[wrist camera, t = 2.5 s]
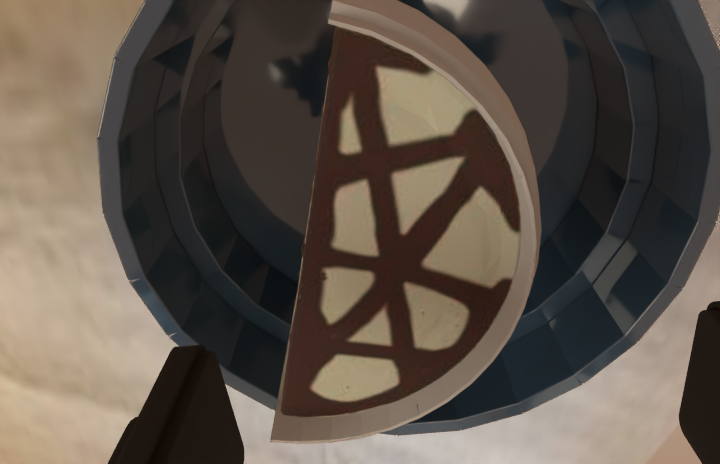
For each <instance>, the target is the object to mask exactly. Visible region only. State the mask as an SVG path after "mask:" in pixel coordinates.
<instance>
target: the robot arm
mask: <svg viewBox="0 0 720 464" xmlns="http://www.w3.org/2000/svg"><path fill="white" fill-rule="evenodd" d="M679 422H680V426H681V429H682V432H683V434H684V436H685V437H686V439H687V440H688V442H689V444H690V445H691V447H692V448H693V450H694V451H695V453H696V454H697V456H698V458H699V459H700V461H701V462H702V464H720V301H716V302H712V303H710V304H709V305H708V307H707V310H703V311H701V312H700V313H699V316H698V320H697V325H696V330H695V336H694V341H693V346H692V351H691V356H690V361H689V366H688V371H687V376H686V381H685V387H684V392H683V397H682V402H681V407H680V412H679ZM243 463H244V446H243V442H242V439H241V436H240V432H239V429H238V426H237V422H236V419H235V416H234V412H233V409H232V406H231V403H230V399H229V396H228V393H227V389H226V386H225V383H224V379H223V376H222V373H221V369H220V366H219V363H218V360H217V356H216V354H215V353H214V352H213V351H207V349H206V347H205V346H204V345H191V346H179V347H174V348H173V349H172V350H171V352H170V354H169V356H168V358H167V360H166V362H165V364H164V366H163V368H162V370H161V372H160V374H159V376H158V378H157V380H156V382H155V384H154V386H153V388H152V390H151V392H150V394H149V396H148V398H147V400H146V402H145V404H144V406H143V408H142V410H141V412H140V414H139V416H138V417H135V418H134V419H133V420H131V421H130V423H129V424H128V426H127V427H126V429H125V431H124V433H123V435H122V437H121V439H120V441H119V442H118V444H117V446H116V448H115V450H114V452H113V454H112V456H111V458H110V460H109V462H108V464H243Z"/></svg>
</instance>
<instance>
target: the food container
mask: <svg viewBox="0 0 720 464" xmlns="http://www.w3.org/2000/svg"><path fill="white" fill-rule="evenodd" d="M328 24H332V25H335V30H334V35H333V46H332V52H331V56H330V59H329V61H328V67H329V75H328V82H327V89H326V95H325V102H324V104H323V106H322V110H321V111H322V113H323V114H322V117H321V123H320V124H321V130H320V137H319V143H318V151H317V157H316V167H315V175H314V181H313V185H312V189H311V191H310V210H309V217H308V222H307V225H306V230H307V231H306V236H305V238H304V241H303V246H302V247H301V253H302V256H303V257H302V264H301V271H299V272H298V276H299V277H300V278H299V284H298V287H297V295H296V299H295V300H294V305H295V306H294V312H293V317H292V323H291V328H290V334H289V340H288V345H287V351H286V356H285V362H284V367H283V373H282V378H281V384H280V390H279V395H278V401H277V406H276V412H275V417H274V423H273V428H272V434H271V440H270V442H279V443H293V444H311V443H332V442H339V441H345V440H352V439H358V438H363V437H367V436H371V435H374V434H378V433H381V432H385V431H389V430H392V429H395V428H397V427H399V426H402V425H404V424H407V423H409V422H412V421H414V420H416V419H419V418H421V417H423V416H425V415H426V414H428V413H430V412H432V411H433V410H435V409H437V408H439V407H440V406H442V405H444V404H445V403H447V402H449V401H450V400H451V399H452V398H454V397H455V396H456V395H458V394H459V393H460V392H462V391H463V390H464V389H465V388H467V387H468V386H469V385H471V384H472V383H473V382H474V381H475V380H476V379H477V378H478V377H479V376H480V375H481V374H482V373H483V371H484V370H485V369H486V368H487V367H488V366H489V365H490V364H491V363H492V362H493V361H494V360H495V358H496V357H497V355H498V354H499V353H500V351H501V350H502V348H503V347H504V345H505V344H506V343H507V341H508V340H509V338H510V337H511V335H512V333H513V331H514V329H515V327H516V325H517V323H518V321H519V319H520V317H521V315H522V312H523V310H524V308H525V305H526V302H527V298H528V296H529V293H530V289H531V286H532V283H533V279H534V276H535V272H536V269H537V265H538V259H539V250H540V240H541V231H542V229H541V216H540V202H539V192H538V185H537V179H536V172H535V166H534V163H533V159H532V155H531V152H530V148H529V144H528V141H527V137H526V133H525V131H524V129H523V127H522V125H521V123H520V120H519V118H518V116H517V114H516V112H515V110H514V108H513V106H512V104H511V102H510V99H509V98H508V96H507V95H506V93H505V92H504V91H503V89H502V88H501V86H500V85H499V84H498V82H497V81H496V79H495V78H494V77H493V75H492V74H491V72H490V71H489V70H488V68H487V67H486V65H485V64H484V63H483V62H482V61H481V60H480V59H479V58H477V57H476V56H475V55H474V54H473V53H472V52H471V51H470V50H469V49H468V48H467V47H466V46H465V45H464V44H463V43H462V42H461V41H460V40H459V39H458V38H457V37H456V36H455V35H454V34H452V33H451V32H449V31H448V30H446V29H445V28H443V27H442V26H441V25H439V24H438V23H436V22H435V21H433V20H432V19H430V18H429V17H428V16H426V15H425V14H423V13H422V12H420V11H419V10H417V9H415V8H412V7H410V6H408V5H406V4H404V3H402V2H400V1H397V0H332V7H331V13H330V16H329V20H328Z"/></svg>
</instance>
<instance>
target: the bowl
mask: <svg viewBox="0 0 720 464" xmlns="http://www.w3.org/2000/svg"><path fill="white" fill-rule="evenodd" d="M397 1H400V2H402V3H404V4H406V5H408V6H410V7H412V8H415V9H417V10H419V11H420V12H422V13H423V14H425V15H426V16H428V17H429V18H430V19H432V20H433V21H435V22H436V23H438V24H439V25H441V26H442V27H443V28H445V29H446V30H448V31H449V32H451V33H452V34H454V35H455V36H456V37H457V38H458V39H459V40H460V41H461V42H462V43H463V44H464V45H465V46H466V47H467V48H468V49H469V50H470V51H471V52H472V53H473V54H474V55H475V56H476V57H477V58H479V59H480V60H481V61H482V62H483V63H484V64H485V65H486V67H487V68H488V70H489V71H490V72H491V74H492V75H493V77H494V78H495V79H496V81H497V82H498V84H499V85H500V86H501V88H502V89H503V91H504V92H505V93H506V95H507V96H508V98H509V99H510V102H511V104H512V106H513V108H514V110H515V112H516V114H517V116H518V118H519V120H520V123H521V125H522V127H523V129H524V131H525V133H526V137H527V141H528V144H529V148H530V152H531V155H532V159H533V163H534V166H535V172H536V179H537V185H538V192H539V202H540V216H541V229H542V231H541V240H540V250H539V259H538V265H537V269H536V272H535V276H534V279H533V283H532V286H531V289H530V293H529V296H528V298H527V302H526V305H525V308H524V310H523V312H522V315H521V317H520V319H519V321H518V323H517V325H516V327H515V329H514V331H513V333H512V335H511V337H510V338H509V340H508V341H507V343H506V344H505V345H504V347H503V348H502V350H501V351H500V353H499V354H498V355H497V357H496V358H495V360H494V361H493V362H492V363H491V364H490V365H489V366H488V367H487V368H486V369H485V370H484V371H483V373H482V374H481V375H480V376H479V377H478V378H477V379H476V380H475V381H474V382H473V383H472V384H471V385H469V386H468V387H467V388H465V389H464V390H463V391H462V392H460V393H459V394H458V395H456V396H455V397H454V398H452V399H451V400H450V401H449V402H447V403H445V404H444V405H442V406H440V407H439V408H437V409H435V410H433V411H432V412H430V413H428V414H426V415H425V416H423V417H421V418H419V419H416V420H414V421H412V422H409V423H407V424H404V425H402V426H399V427H397V428H395V429H392V430H389V431H385V432H381V433H379V434H388V435H398V436H399V435H411V434H424V433H436V432H449V431H460V429H461V430H464V429H468V428H472V427H475V426H479V425H483V424H486V423H490V422H494V421H498V420H501V419H505V418H509V417H512V416H516V415H520V414H522V413H523V412H527V411H529V410H531V409H533V408H535V407H537V406H539V405H541V404H543V403H545V402H547V401H549V400H552V399H554V398H556V397H558V396H560V395H562V394H564V393H566V392H568V391H570V390H572V389H574V388H576V387H578V386H580V385H582V383H585V382H587V381H588V380H589V379H590V378H592V377H593V376H594V375H596V374H597V373H598V372H600V371H601V370H602V369H603V368H605V367H606V366H607V365H609V364H610V363H611V362H613V361H614V360H615V359H617V358H618V357H619V356H620V355H622V354H623V353H624V352H626V351H627V350H628V349H630V348H631V347H632V346H634V345H635V344H636V343H637V342H636V341H639V340H640V339H641V338H642V337H643V335H644V334H645V333H646V332H647V331H648V329H649V328H650V327H651V326H652V325H653V324H654V322H655V321H656V320H657V319H658V318H659V317H660V315H661V314H662V313H663V312H664V311H665V309H666V308H667V307H668V306H669V305H670V304H671V302H672V301H673V300H674V299H675V298H676V296H677V295H678V294H679V293H680V292H681V291H682V287H684V286H685V284H686V282H687V280H688V278H689V276H690V274H691V272H692V270H693V268H694V266H695V264H696V262H697V260H698V258H699V256H700V254H701V252H702V250H703V249H704V247H705V245H706V243H707V241H708V239H709V237H710V235H711V233H712V231H713V229H714V227H715V225H716V221H717V219H718V214H719V209H720V51H719V48H718V46H717V44H716V41H715V39H714V37H713V34H712V32H711V30H710V27H709V25H708V23H707V20H706V18H705V16H704V13H703V11H702V9H701V6H700V4H699V2H698V0H397ZM331 7H332V0H145V1H144V2H143V4H142V6H141V8H140V10H139V11H138V13H137V15H136V17H135V19H134V20H133V22H132V24H131V26H130V28H129V29H128V31H127V33H126V35H125V37H124V38H123V40H122V42H121V44H120V46H119V47H118V49H117V51H116V53H115V57H114V59H113V63H112V68H111V73H110V77H109V82H108V87H107V92H106V96H105V101H104V106H103V111H102V115H101V120H100V125H99V130H98V134H97V136H98V138H97V149H98V161H99V173H100V185H101V197H102V208H103V214H104V217H105V220H106V223H107V225H108V228H109V231H110V233H111V236H112V238H113V241H114V244H115V246H116V249H117V252H118V254H119V257H120V260H121V262H122V265H123V268H124V270H125V273H126V276H127V278H128V280H130V281H129V282H130V284H131V285H132V287H133V288H134V289H135V291H136V292H137V294H138V295H139V296H140V298H141V299H142V301H143V302H144V304H145V305H146V306H147V308H148V309H149V311H150V312H151V313H152V315H153V316H154V318H155V319H156V320H157V322H158V323H159V325H160V326H161V327H162V329H163V330H164V332H165V333H166V335H169V338H170V339H171V340H173V341H174V342H175V343H176V344H177V345H178V346H191V345H204V346H205V347H206V349H207V351H213V352H214V353H215V354H216V356H217V360H218V363H219V366H220V369H221V373H222V376H223V379H224V383H225V384H226V385H228V386H230V387H232V388H234V389H235V390H237V391H239V392H241V393H243V394H245V395H246V396H248V397H250V398H252V399H254V400H256V401H257V402H259V403H261V404H263V405H265V406H267V407H268V408H270V409H274V410H275V411H276V406H277V401H278V395H279V390H280V384H281V378H282V373H283V367H284V362H285V356H286V351H287V345H288V340H289V334H290V328H291V323H292V317H293V312H294V306H295V305H294V300H295V299H296V295H297V287H298V284H299V278H300V277H299V276H298V272H299V271H301V264H302V257H303V256H302V253H301V247H302V246H303V241H304V238H305V236H306V231H307V230H306V225H307V222H308V217H309V210H310V191H311V189H312V185H313V181H314V175H315V167H316V157H317V151H318V143H319V137H320V130H321V124H320V123H321V117H322V114H323V113H322V111H321V110H322V106H323V104H324V102H325V95H326V89H327V82H328V75H329V67H328V61H329V59H330V56H331V52H332V46H333V35H334V30H335V25H332V24H328V20H329V16H330V13H331Z"/></svg>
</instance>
